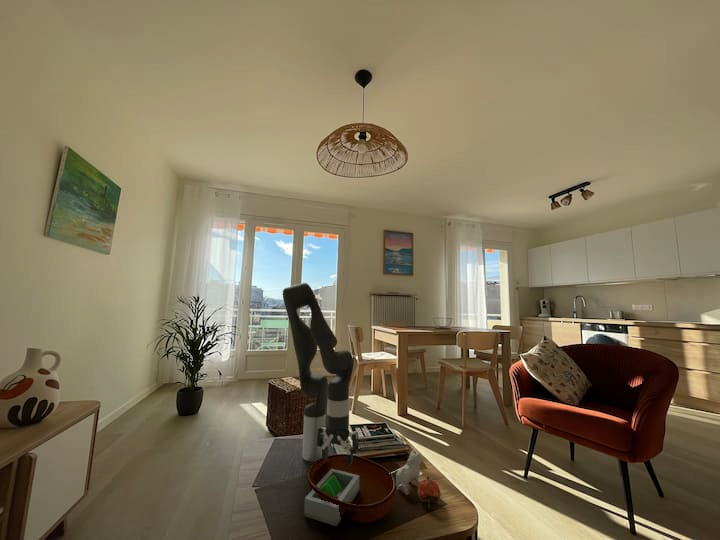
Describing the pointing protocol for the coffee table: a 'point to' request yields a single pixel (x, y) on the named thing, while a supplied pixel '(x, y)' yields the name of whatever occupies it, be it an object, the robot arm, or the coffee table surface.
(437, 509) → the coffee table surface
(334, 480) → the pipe clamp
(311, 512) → the bin
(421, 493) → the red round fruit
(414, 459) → the dog figurine
